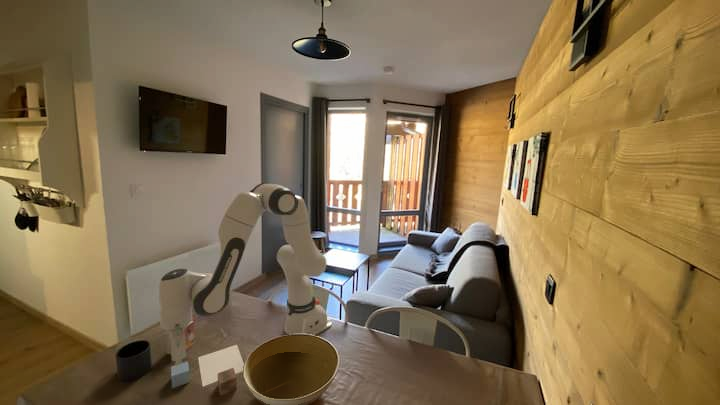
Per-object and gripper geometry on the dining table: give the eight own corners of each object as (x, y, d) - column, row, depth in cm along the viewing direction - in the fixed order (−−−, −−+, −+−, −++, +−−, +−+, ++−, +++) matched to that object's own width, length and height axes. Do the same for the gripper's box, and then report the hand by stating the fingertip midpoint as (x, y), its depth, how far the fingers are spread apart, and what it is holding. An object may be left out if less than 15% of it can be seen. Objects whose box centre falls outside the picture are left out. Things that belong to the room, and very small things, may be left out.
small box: (179, 357, 104) (177, 332, 103) (167, 354, 105) (165, 330, 104) (195, 343, 112) (194, 320, 110) (184, 341, 113) (182, 318, 111)
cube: (188, 373, 97) (188, 361, 96) (189, 383, 93) (188, 370, 92) (171, 379, 94) (171, 366, 94) (172, 389, 90) (171, 376, 90)
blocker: (233, 379, 96) (233, 367, 95) (236, 390, 92) (236, 377, 91) (218, 386, 93) (217, 373, 92) (220, 396, 89) (219, 383, 88)
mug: (132, 358, 103) (130, 336, 101) (158, 364, 100) (156, 342, 99) (104, 377, 93) (102, 354, 92) (132, 384, 91) (130, 361, 90)
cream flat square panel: (236, 345, 113) (236, 344, 113) (246, 370, 100) (246, 369, 100) (198, 358, 104) (198, 357, 104) (202, 387, 92) (202, 386, 92)
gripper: (190, 331, 83) (191, 371, 85) (185, 301, 100) (187, 335, 102) (165, 338, 80) (167, 379, 82) (164, 306, 96) (166, 341, 98)
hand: (178, 355), depth 92 cm, fingers open, 8 cm apart
